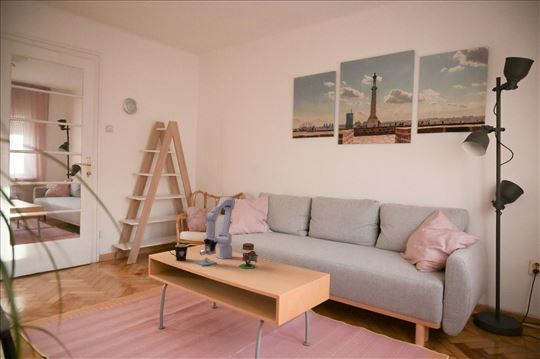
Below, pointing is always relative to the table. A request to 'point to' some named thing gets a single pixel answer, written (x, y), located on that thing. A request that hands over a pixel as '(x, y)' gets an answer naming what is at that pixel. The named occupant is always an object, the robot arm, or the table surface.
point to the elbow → (207, 250)
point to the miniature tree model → (249, 256)
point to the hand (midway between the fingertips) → (210, 250)
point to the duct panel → (205, 262)
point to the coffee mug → (180, 252)
